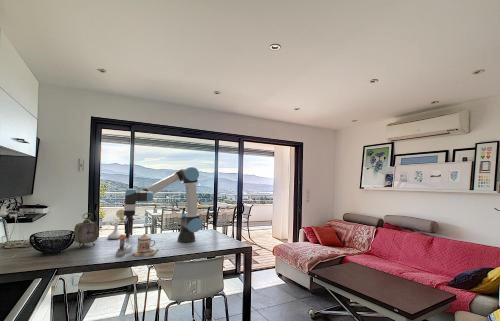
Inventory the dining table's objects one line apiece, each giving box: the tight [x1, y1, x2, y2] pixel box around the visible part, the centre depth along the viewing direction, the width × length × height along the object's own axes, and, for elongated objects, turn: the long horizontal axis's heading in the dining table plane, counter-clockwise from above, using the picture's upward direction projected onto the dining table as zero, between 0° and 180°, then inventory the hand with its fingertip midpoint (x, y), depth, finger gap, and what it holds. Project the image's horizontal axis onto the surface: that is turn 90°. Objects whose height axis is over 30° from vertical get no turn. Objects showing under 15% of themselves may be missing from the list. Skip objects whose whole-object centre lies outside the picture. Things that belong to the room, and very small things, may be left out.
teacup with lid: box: [136, 233, 156, 252], centre depth 188 cm, size 12×9×12 cm
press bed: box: [131, 247, 159, 257], centre depth 188 cm, size 14×14×2 cm
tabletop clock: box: [73, 212, 100, 249], centre depth 198 cm, size 14×9×25 cm, turn 147°
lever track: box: [115, 244, 133, 257], centre depth 187 cm, size 5×16×3 cm, turn 5°
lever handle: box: [117, 233, 126, 251], centre depth 182 cm, size 4×4×11 cm
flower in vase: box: [107, 208, 126, 240], centre depth 226 cm, size 13×11×25 cm
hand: (127, 242), depth 191 cm, fingers closed
